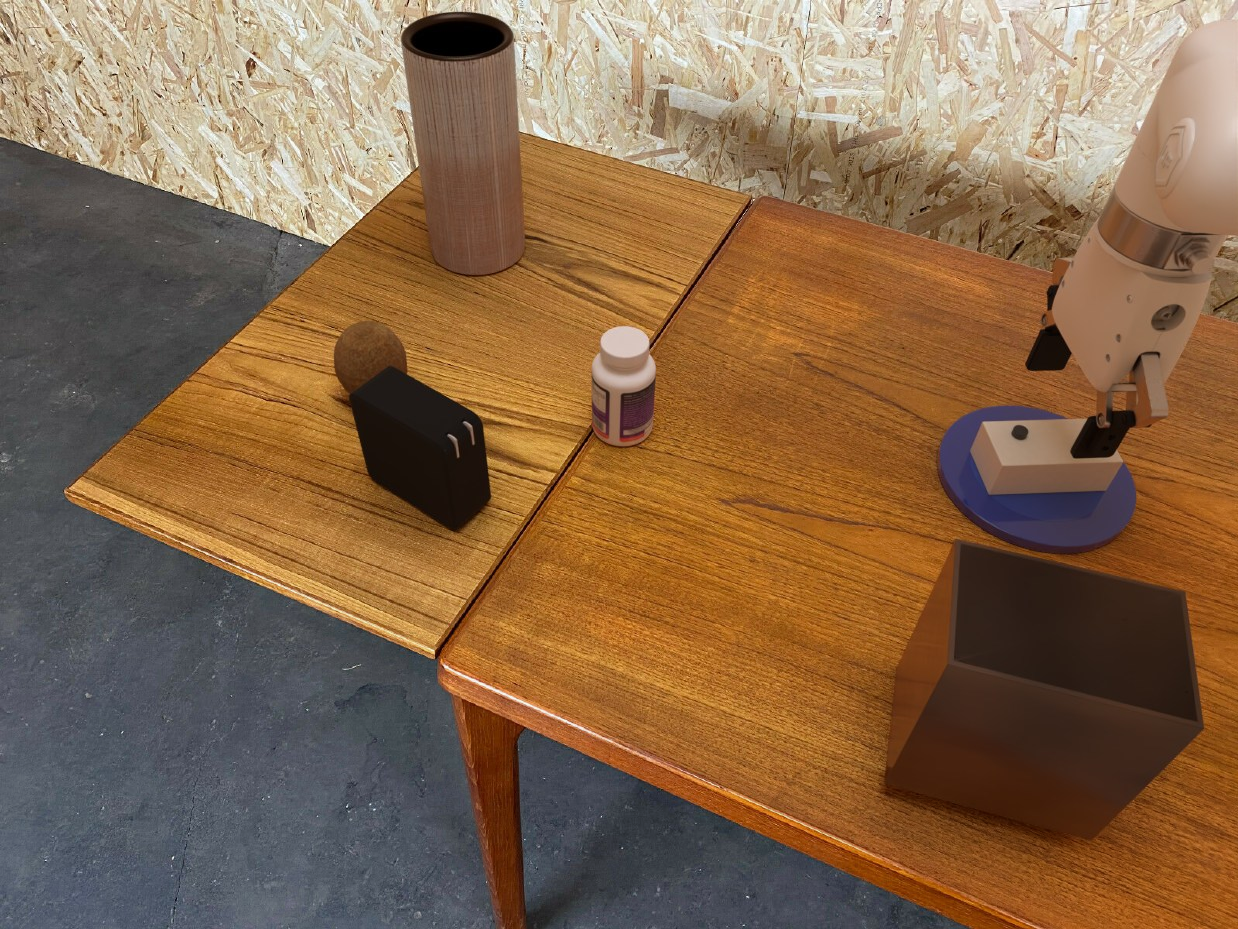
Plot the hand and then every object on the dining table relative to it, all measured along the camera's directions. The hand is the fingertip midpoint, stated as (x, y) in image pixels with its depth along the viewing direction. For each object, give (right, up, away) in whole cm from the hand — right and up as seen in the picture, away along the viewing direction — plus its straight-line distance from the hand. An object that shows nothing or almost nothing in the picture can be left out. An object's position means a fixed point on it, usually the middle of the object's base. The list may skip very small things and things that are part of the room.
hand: (1065, 409), depth 75 cm
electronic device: (-51, -7, +3) cm, 51 cm away
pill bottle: (-35, -1, +9) cm, 36 cm away
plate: (0, -6, +6) cm, 8 cm away
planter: (-50, +19, +26) cm, 60 cm away
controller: (0, -5, +5) cm, 7 cm away
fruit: (-57, +2, +11) cm, 58 cm away
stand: (-11, -24, -11) cm, 28 cm away
